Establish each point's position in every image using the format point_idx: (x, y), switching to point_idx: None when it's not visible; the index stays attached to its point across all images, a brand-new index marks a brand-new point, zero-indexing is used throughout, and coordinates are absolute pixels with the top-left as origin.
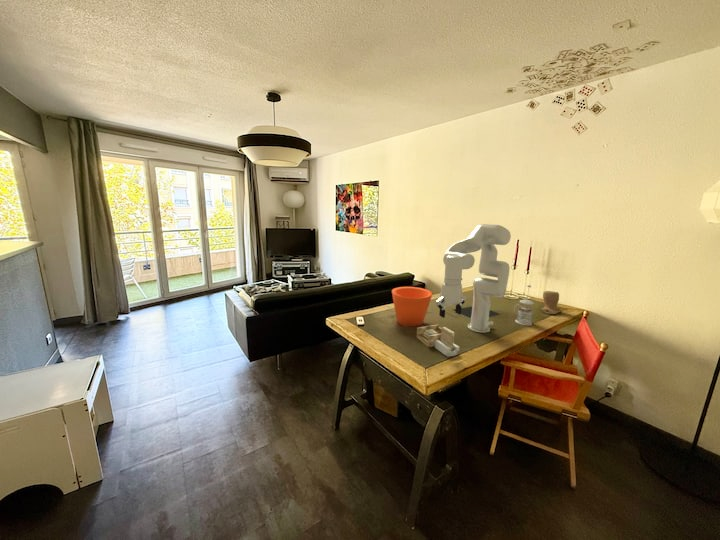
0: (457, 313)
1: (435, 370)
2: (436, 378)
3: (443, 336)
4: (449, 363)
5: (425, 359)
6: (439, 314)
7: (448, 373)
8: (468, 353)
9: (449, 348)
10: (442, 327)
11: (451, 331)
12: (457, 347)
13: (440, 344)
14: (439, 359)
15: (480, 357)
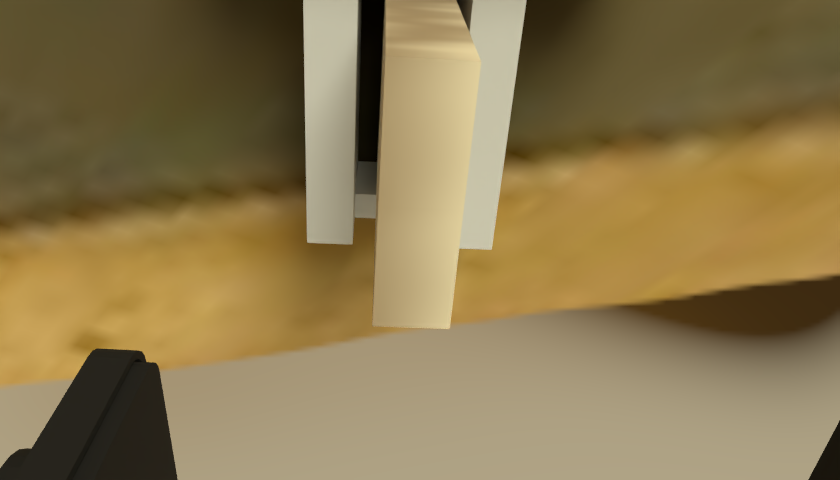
0: (828, 453)
1: (59, 290)
2: (8, 374)
3: (382, 81)
4: (277, 252)
5: (47, 92)
6: (80, 370)
7: (159, 359)
8: (634, 183)
9: (334, 233)
10: (403, 60)
11: (433, 278)
12: (459, 246)
13: (306, 78)
14: (220, 155)
15: (667, 283)
